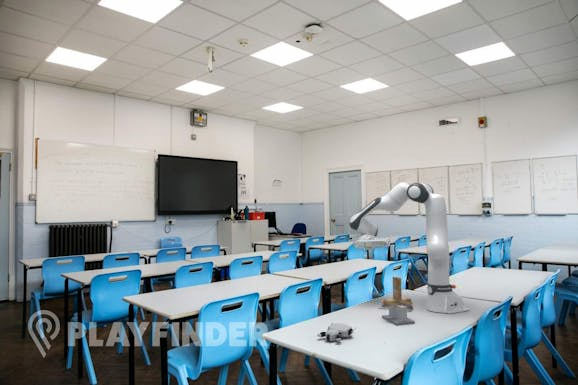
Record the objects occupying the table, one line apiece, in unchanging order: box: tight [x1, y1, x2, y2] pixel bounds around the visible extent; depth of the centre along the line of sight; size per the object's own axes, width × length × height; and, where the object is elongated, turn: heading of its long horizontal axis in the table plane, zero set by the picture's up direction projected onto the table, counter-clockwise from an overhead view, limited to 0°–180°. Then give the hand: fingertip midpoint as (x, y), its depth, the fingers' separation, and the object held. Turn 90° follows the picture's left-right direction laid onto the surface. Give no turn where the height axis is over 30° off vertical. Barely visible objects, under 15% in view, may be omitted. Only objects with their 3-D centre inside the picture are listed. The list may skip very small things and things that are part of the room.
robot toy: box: [316, 322, 357, 342], centre depth 169 cm, size 12×4×15 cm
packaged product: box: [377, 298, 414, 313], centre depth 219 cm, size 18×5×10 cm
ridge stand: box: [381, 305, 416, 327], centre depth 194 cm, size 10×14×8 cm
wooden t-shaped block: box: [383, 276, 412, 306], centre depth 195 cm, size 14×3×14 cm, turn 105°
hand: (379, 244), depth 219 cm, fingers open, 8 cm apart
